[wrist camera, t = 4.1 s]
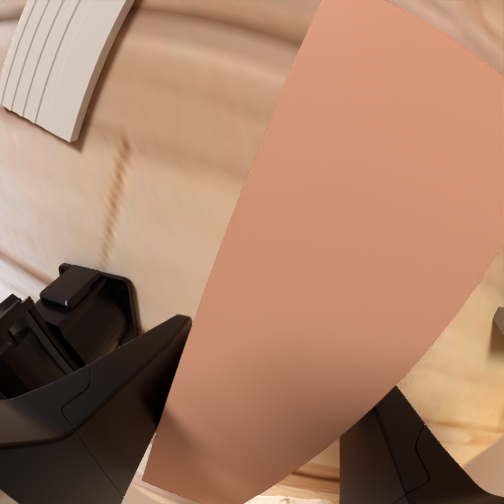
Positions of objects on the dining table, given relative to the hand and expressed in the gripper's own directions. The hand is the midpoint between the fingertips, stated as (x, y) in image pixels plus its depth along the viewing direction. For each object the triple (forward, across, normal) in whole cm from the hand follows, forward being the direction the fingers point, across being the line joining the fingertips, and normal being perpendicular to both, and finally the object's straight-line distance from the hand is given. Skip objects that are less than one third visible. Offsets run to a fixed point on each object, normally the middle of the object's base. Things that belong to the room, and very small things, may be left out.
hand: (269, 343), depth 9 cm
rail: (+1, 0, 0) cm, 1 cm away
